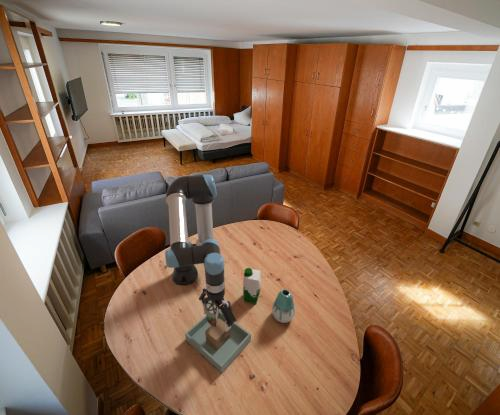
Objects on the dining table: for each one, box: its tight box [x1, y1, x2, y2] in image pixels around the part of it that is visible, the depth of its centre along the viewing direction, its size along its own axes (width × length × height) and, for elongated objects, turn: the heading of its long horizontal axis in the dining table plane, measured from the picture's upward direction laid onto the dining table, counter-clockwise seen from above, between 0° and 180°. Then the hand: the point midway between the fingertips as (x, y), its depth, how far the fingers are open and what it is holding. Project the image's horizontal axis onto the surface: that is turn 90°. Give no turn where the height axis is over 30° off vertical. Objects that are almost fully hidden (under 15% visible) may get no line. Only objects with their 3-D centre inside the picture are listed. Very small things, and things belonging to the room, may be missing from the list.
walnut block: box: [205, 318, 230, 351], centre depth 124 cm, size 9×7×8 cm
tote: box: [184, 309, 252, 374], centre depth 125 cm, size 24×20×5 cm
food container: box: [203, 301, 220, 327], centre depth 119 cm, size 12×6×10 cm, turn 178°
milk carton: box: [242, 267, 262, 305], centre depth 143 cm, size 9×9×20 cm
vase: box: [271, 288, 296, 324], centre depth 134 cm, size 12×12×18 cm
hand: (217, 320), depth 119 cm, fingers open, 13 cm apart
